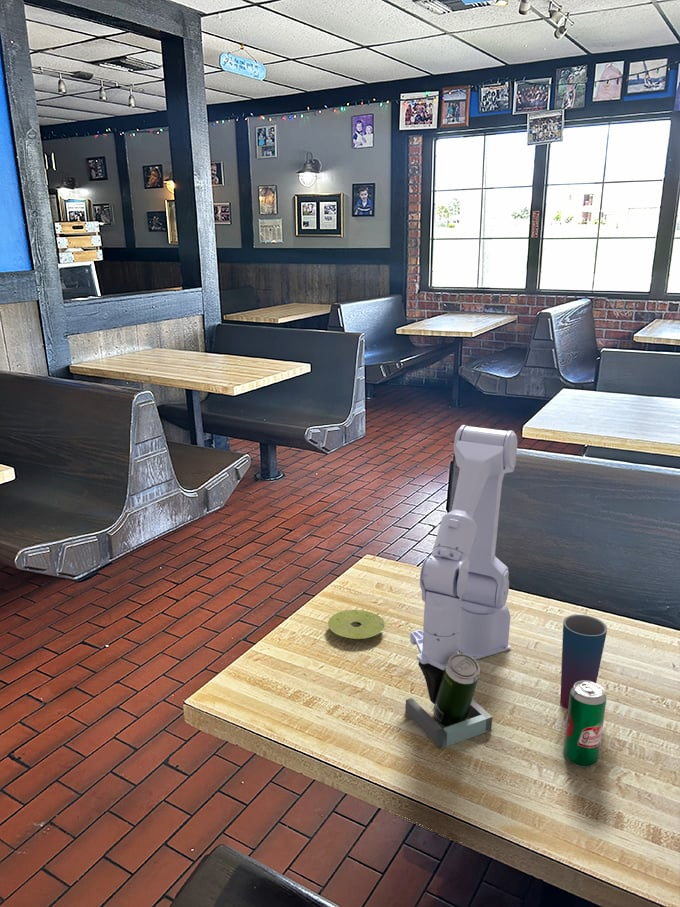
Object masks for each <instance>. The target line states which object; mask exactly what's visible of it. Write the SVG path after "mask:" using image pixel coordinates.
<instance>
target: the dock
mask: <svg viewBox="0 0 680 907" xmlns="http://www.w3.org/2000/svg"><path fill="white" fill-rule="evenodd" d="M404 708H405V710H404V711H405V714H406V715H407V717H409V718H410V719H411V720H412V722H413V723H414V724H415V725H417V727H418V728H419V729H420V730H421V731H422V732H423V733H424V734H425V735H426V736H427V737H428V739H430V740H431V741H432V743H434V745H435V746H436V747H437V748H438V749H439V750H442V749H444V748H447V747H450V746H452V745H455V744H457V743H460V742H463V741H466V740H469V739H473V738H474V737H477V736H479V735H481V734H482V735H483V734H485V733H488V732H489V731H490V732H491V731H492V728H493V716H492V715H491V714H490V713H489V712H488V711H487V710H486V709H485V708H484V707H483V706H481V705H480V704H478V702H476V701H475V700H474V698H473V699H472V702H471V705H470V709H469V712H468V715H467V717H468V718H469V719H466V720H465V721H462V722H459V723H457V724H454V725H451V726H448V727H445V728H444V727H442V726H441V725H440V724H439V723H438V722H437V721H436V719H435V718H433V717H432V716H431V715H430V714H429V713H428V712H427V711H426V710H425V709H424V708H423V707H422V706H421V705H420V704H419V702H417V700H415V698H413V697H410V698H406V699H405V707H404Z"/></svg>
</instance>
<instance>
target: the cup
mask: <svg viewBox="0 0 680 907" xmlns="http://www.w3.org/2000/svg"><path fill="white" fill-rule="evenodd" d="M562 625H563V626H562V647H561V668H560V669H561V671H560V674H561V676H560V695H559V696H560V700H559V702H560V705H561V707H563V708H564V709H565V710H567V711H568V706H569V697H570V690H571V689H572V688H573V686H574V684H575V683H576V682H578V681H582V680H587V681H592V682H595V683H597V680H598V676H599V671H600V668H601V667H600V666H601V662H602V657H603V652H604V649H605V648H604V647H605V643H606V638H607V634H608V633H607V632H608V627H607V625H606V624H605V623H604V622H603V621H602V620H600V619H599V618H597V617H594V616H590V615H586V614H570V615H568V616H566V617H565V618H564V619H563V622H562Z"/></svg>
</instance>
